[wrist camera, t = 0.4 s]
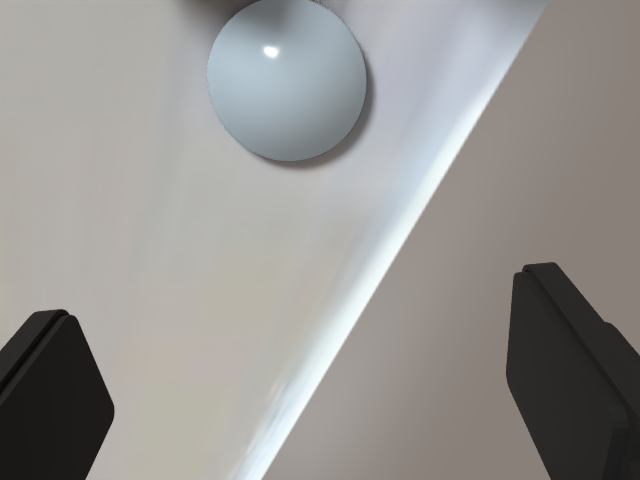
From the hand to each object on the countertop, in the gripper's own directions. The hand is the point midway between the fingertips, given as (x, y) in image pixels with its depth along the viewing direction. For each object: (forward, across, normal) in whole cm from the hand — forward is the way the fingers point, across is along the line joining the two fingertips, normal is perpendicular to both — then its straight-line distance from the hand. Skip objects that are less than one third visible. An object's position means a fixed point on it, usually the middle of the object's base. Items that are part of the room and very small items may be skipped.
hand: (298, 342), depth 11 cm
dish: (+28, +2, -1) cm, 28 cm away
